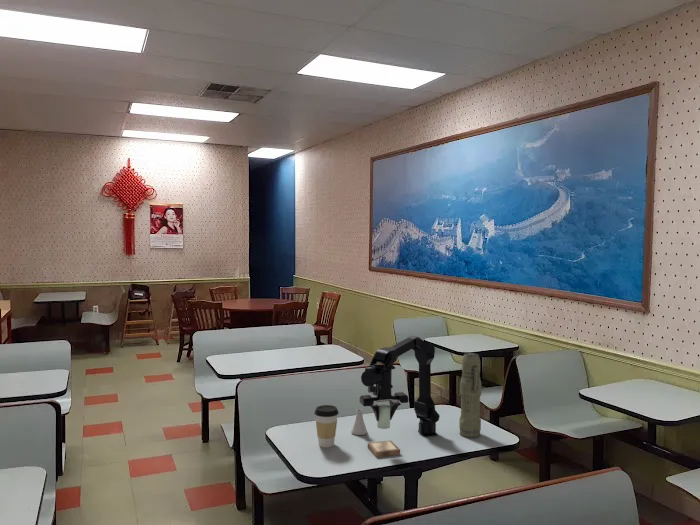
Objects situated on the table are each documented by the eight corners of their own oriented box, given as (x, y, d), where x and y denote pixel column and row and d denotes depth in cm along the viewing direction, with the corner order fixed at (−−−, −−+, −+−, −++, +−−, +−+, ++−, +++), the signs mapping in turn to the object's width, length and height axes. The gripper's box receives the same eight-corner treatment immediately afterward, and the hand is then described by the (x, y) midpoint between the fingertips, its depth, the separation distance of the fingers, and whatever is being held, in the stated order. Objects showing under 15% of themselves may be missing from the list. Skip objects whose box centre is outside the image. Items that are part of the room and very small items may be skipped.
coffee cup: (341, 441, 233) (342, 406, 232) (333, 450, 223) (333, 413, 223) (319, 438, 236) (319, 403, 235) (310, 447, 227) (310, 410, 226)
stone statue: (472, 428, 249) (473, 350, 247) (486, 438, 238) (487, 356, 236) (454, 430, 246) (455, 351, 244) (467, 440, 235) (468, 357, 233)
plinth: (390, 445, 229) (390, 440, 229) (400, 454, 220) (400, 449, 220) (367, 447, 226) (367, 442, 226) (375, 457, 217) (375, 452, 217)
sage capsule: (387, 424, 226) (387, 404, 225) (392, 428, 221) (392, 408, 220) (375, 425, 224) (375, 405, 224) (379, 429, 219) (380, 409, 219)
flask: (366, 436, 239) (366, 413, 238) (349, 435, 240) (349, 412, 240) (369, 430, 246) (369, 408, 245) (352, 429, 247) (352, 406, 247)
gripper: (398, 374, 232) (398, 412, 233) (355, 377, 226) (355, 416, 227) (409, 381, 221) (408, 420, 222) (364, 385, 216) (363, 425, 217)
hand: (383, 420), depth 222 cm, fingers closed on sage capsule, 5 cm apart
